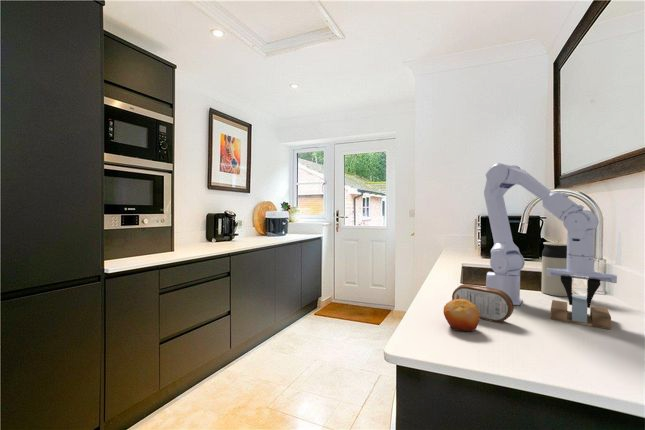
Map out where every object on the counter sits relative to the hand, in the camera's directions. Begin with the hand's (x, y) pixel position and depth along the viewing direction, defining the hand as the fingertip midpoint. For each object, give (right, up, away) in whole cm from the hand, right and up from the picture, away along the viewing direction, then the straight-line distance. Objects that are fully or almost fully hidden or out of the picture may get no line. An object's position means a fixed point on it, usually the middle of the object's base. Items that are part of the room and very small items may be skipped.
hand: (579, 305), depth 85 cm
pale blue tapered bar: (0, -3, 0) cm, 3 cm away
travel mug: (+13, -4, +27) cm, 30 cm away
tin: (-26, -4, 0) cm, 27 cm away
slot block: (0, -4, 0) cm, 4 cm away
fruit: (-35, -4, -8) cm, 36 cm away
